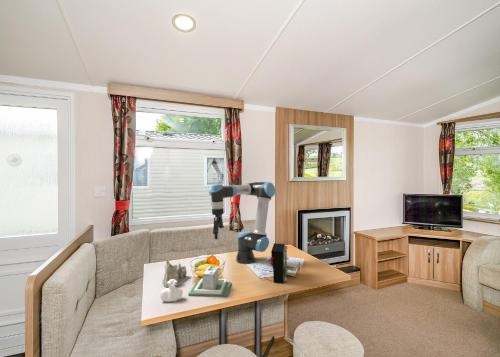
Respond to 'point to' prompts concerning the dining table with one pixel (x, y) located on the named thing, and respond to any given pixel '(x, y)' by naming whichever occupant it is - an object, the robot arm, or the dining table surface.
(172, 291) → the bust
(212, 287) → the light bulb box
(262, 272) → the dining table surface
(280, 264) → the electrical component
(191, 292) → the board
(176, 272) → the ceramic cottage
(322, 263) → the dining table surface
